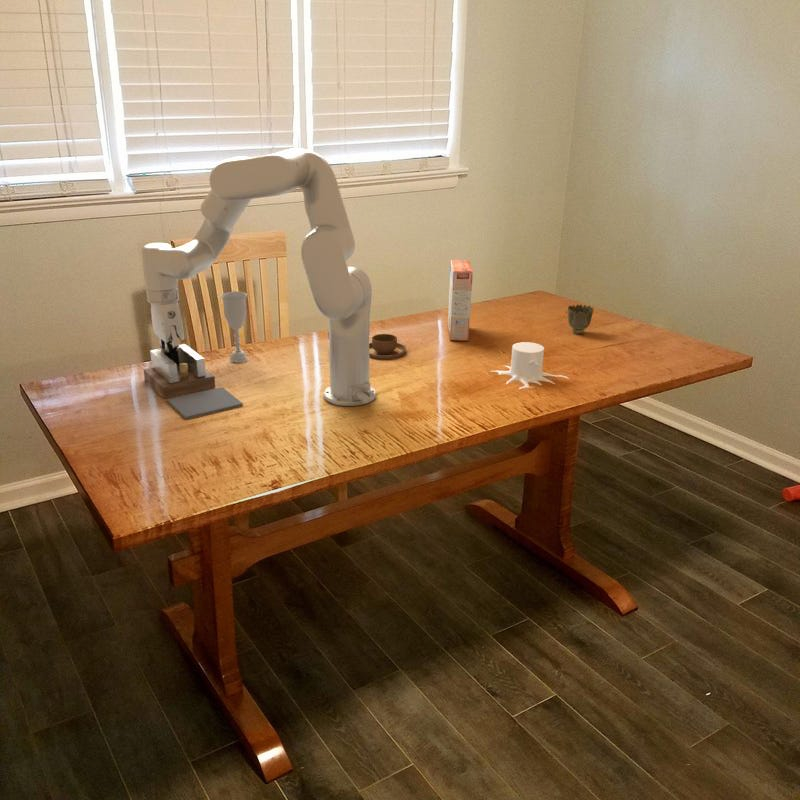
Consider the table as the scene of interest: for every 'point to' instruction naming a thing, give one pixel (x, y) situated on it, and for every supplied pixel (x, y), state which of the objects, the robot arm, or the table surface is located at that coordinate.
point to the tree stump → (527, 364)
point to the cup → (579, 317)
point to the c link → (185, 356)
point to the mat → (204, 402)
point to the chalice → (235, 319)
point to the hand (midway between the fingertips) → (170, 364)
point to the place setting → (385, 346)
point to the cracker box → (459, 300)
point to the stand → (179, 382)
